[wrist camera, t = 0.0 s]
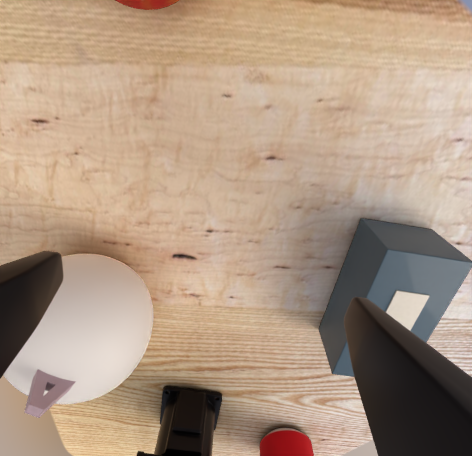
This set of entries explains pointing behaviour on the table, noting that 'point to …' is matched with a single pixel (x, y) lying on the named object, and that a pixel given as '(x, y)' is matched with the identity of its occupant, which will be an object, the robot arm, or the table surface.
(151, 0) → the fruit
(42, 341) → the ornament
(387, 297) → the tissue box
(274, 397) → the table surface
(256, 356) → the table surface
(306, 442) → the beverage can
